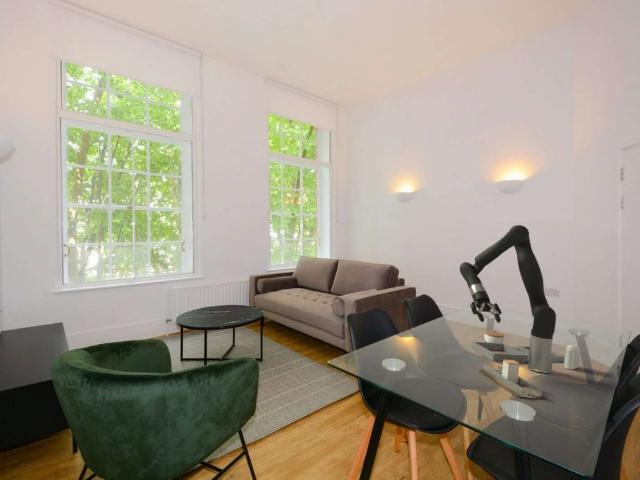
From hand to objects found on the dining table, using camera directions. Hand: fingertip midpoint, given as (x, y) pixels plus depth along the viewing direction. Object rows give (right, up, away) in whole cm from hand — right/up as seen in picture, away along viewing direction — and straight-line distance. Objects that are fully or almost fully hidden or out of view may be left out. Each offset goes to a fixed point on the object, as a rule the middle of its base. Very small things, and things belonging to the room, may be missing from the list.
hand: (491, 321), depth 162 cm
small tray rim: (+44, -27, +29) cm, 59 cm away
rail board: (0, -24, -16) cm, 29 cm away
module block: (0, -23, -16) cm, 28 cm away
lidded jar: (+23, -26, +43) cm, 55 cm away
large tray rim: (+16, -25, +24) cm, 38 cm away
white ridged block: (+50, -28, +13) cm, 59 cm away
